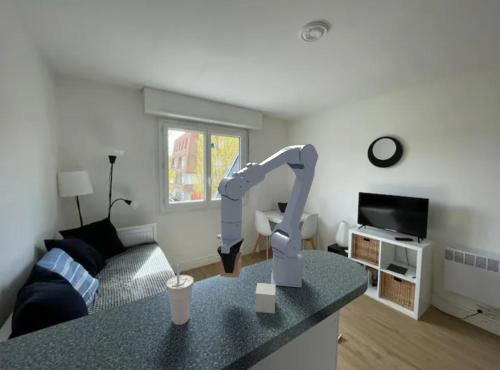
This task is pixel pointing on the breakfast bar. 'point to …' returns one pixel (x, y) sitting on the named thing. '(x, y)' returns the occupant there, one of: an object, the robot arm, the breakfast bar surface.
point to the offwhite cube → (265, 298)
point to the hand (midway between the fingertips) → (231, 267)
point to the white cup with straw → (180, 296)
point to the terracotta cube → (236, 268)
